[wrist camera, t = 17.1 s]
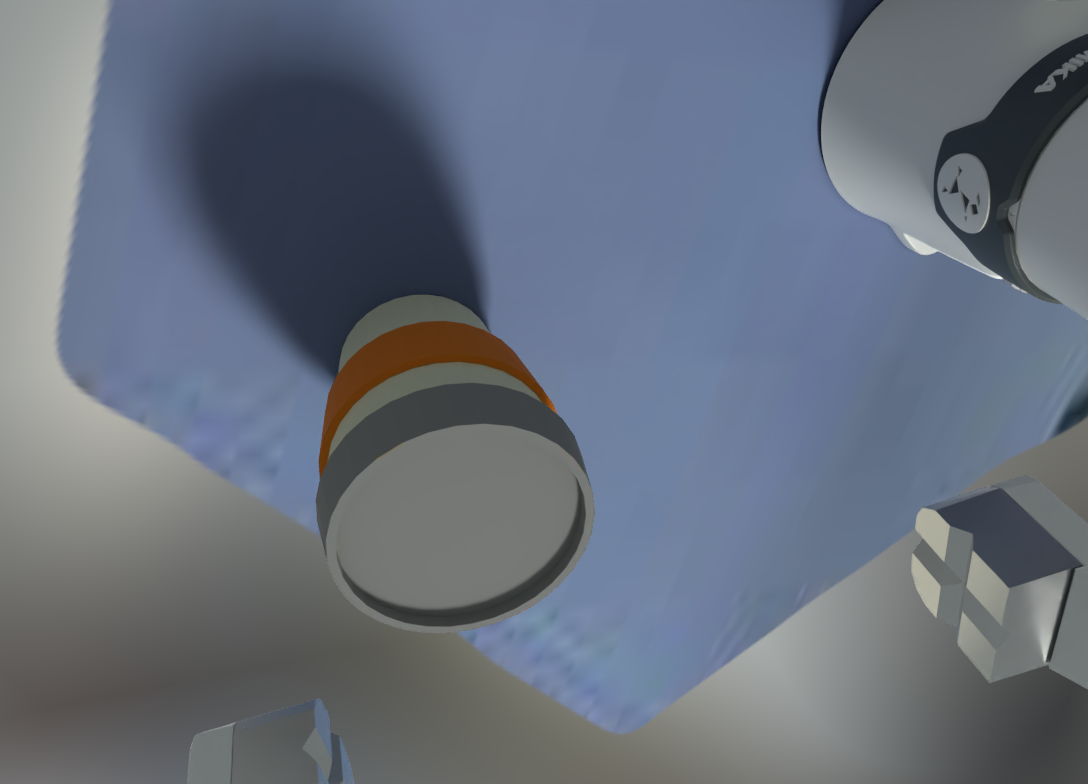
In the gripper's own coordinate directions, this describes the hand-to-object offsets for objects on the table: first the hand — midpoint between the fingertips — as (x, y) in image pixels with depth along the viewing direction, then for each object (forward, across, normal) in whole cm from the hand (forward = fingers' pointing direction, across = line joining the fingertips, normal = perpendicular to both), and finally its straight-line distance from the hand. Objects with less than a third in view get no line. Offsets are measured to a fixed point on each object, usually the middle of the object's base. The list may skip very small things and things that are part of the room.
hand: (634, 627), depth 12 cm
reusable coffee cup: (+37, +2, +18) cm, 42 cm away
